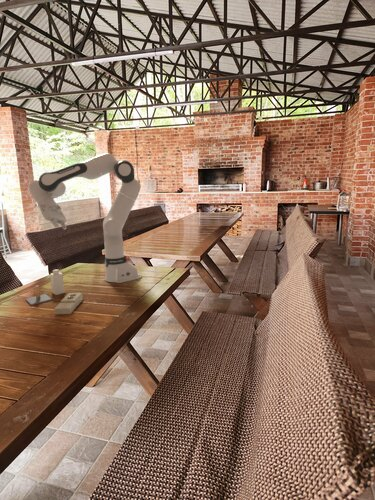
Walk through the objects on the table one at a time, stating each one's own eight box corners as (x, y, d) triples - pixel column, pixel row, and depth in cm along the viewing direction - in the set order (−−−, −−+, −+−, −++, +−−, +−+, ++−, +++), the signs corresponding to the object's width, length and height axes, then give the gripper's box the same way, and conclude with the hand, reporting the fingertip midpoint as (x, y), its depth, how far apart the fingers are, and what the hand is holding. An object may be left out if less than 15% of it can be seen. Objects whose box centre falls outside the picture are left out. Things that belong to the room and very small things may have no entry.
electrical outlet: (54, 306, 144) (68, 292, 162) (55, 315, 145) (69, 300, 163) (69, 306, 144) (82, 292, 162) (70, 314, 145) (83, 299, 163)
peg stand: (45, 295, 169) (44, 281, 168) (51, 300, 162) (49, 286, 160) (25, 300, 163) (23, 285, 162) (30, 305, 156) (28, 290, 154)
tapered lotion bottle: (61, 290, 176) (59, 268, 173) (64, 292, 173) (62, 270, 170) (52, 292, 173) (49, 270, 170) (55, 295, 169) (52, 272, 167)
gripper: (44, 200, 164) (57, 222, 163) (61, 207, 185) (73, 227, 184) (34, 206, 164) (47, 229, 163) (52, 213, 185) (64, 232, 184)
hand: (61, 228), depth 174 cm, fingers open, 8 cm apart
